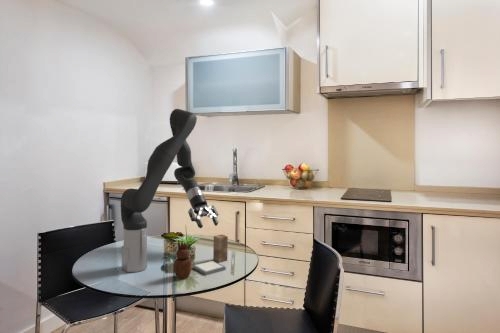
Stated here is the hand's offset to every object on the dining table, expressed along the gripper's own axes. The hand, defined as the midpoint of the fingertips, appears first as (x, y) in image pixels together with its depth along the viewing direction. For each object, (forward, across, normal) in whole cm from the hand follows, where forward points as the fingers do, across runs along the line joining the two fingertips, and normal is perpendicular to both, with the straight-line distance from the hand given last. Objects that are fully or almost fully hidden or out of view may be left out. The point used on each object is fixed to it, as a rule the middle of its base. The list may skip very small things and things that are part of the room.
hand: (209, 226), depth 162 cm
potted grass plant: (+21, -23, -2) cm, 31 cm away
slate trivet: (+20, -10, -1) cm, 23 cm away
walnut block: (+16, 0, +3) cm, 17 cm away
